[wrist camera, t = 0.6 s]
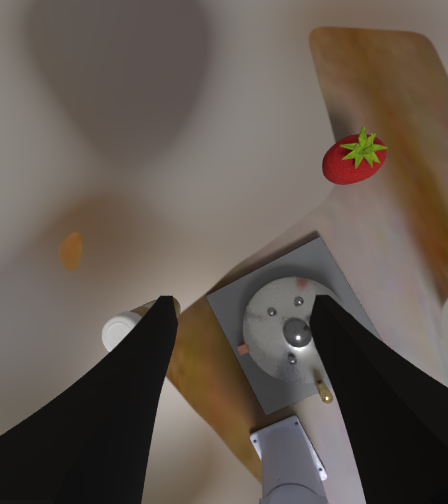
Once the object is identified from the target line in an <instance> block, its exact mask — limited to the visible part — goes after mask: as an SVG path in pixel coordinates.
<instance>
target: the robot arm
mask: <svg viewBox="0 0 448 504" xmlns="http://www.w3.org/2000/svg"><path fill="white" fill-rule="evenodd" d="M309 326H310V330H311V334H312V337H313V341H314V344H315V346H316V349H317V351H318V354H319V356H320V359H321V361H322V364H323V366H324V368H325V371H326V373H327V376H328V378H329V380H330V383H331V385H332V388H333V390H334V393H335V395H336V398H337V401H338V404H339V407H340V410H341V414H342V417H343V420H344V423H345V426H346V430H347V433H348V437H349V440H350V443H351V447H352V450H353V454H354V458H355V461H356V465H357V469H358V472H359V476H360V480H361V484H362V488H363V492H364V496H365V500H366V504H448V387H446V386H444V385H443V384H441V383H440V382H438V381H437V380H435V379H434V378H432V377H430V376H429V375H427V374H426V373H424V372H423V371H421V370H420V369H419V368H417V367H416V366H414V365H413V364H411V363H410V362H409V361H407V360H406V359H404V358H403V357H402V356H400V355H399V354H398V353H396V352H395V351H394V350H392V349H391V348H390V347H388V346H387V345H386V344H385V343H383V342H382V341H381V340H380V339H378V338H377V337H376V336H375V335H373V334H372V333H371V332H370V331H369V330H367V329H366V328H365V327H364V326H363V325H362V324H361V323H359V322H358V321H357V320H356V319H355V318H354V317H353V316H351V315H350V314H349V313H348V312H347V311H346V310H345V309H344V308H343V307H342V306H340V305H339V304H338V303H337V302H336V301H335V300H334V299H333V298H332V297H331V296H329V295H316V296H315V300H314V304H313V308H312V312H311V316H310V320H309ZM177 327H178V321H177V316H176V311H175V306H174V301H173V296H160V297H159V298H158V299H157V300H156V302H155V303H154V304H153V305H152V307H151V308H150V309H149V310H148V311H147V313H146V314H145V315H144V316H143V317H142V319H141V320H140V321H139V322H138V323H137V324H136V325H135V327H134V328H133V329H132V330H131V331H130V332H129V333H128V334H127V335H126V336H125V337H124V338H123V339H122V340H121V342H120V343H119V344H118V345H117V346H116V347H115V348H114V349H113V350H112V351H111V352H110V353H108V355H106V356H105V357H104V358H103V359H102V360H101V361H100V362H99V363H98V364H97V365H96V366H94V367H93V368H92V369H91V370H90V371H88V372H87V373H86V374H85V375H84V376H83V377H81V378H80V379H79V380H78V381H76V382H75V383H74V384H73V385H72V386H70V387H69V388H68V389H67V390H65V391H64V392H63V393H61V394H60V395H58V396H57V397H56V398H54V399H53V400H52V401H50V402H49V403H48V404H46V405H45V406H44V407H42V408H41V409H39V410H38V411H37V412H35V413H34V414H32V415H31V416H29V417H28V418H27V419H25V420H24V421H22V422H21V423H19V424H18V425H16V426H15V427H13V428H11V429H10V430H8V431H7V432H6V433H4V434H3V435H1V436H0V504H141V501H142V494H143V488H144V481H145V475H146V468H147V462H148V456H149V450H150V445H151V439H152V433H153V428H154V423H155V417H156V412H157V407H158V402H159V397H160V393H161V389H162V386H163V382H164V379H165V375H166V372H167V369H168V365H169V362H170V358H171V355H172V351H173V348H174V344H175V339H176V333H177ZM295 422H298V423H295ZM250 439H251V441H252V443H253V445H254V447H255V449H256V451H257V453H258V455H259V457H260V459H261V465H262V496H263V497H262V499H259V504H329V503H328V500H327V496H326V493H325V490H324V486H323V483H322V480H325V479H327V473H326V471H325V469H324V467H323V466H322V464H321V462H320V460H319V458H318V456H317V454H316V452H315V450H314V448H313V446H312V444H311V443H310V441H309V439H308V437H307V435H306V433H305V431H304V429H303V427H302V425H301V423H300V421H299V420H298V418H297V416H295V415H293V416H291V417H288V418H286V419H284V420H282V421H279V422H277V423H275V424H272V425H270V426H268V427H265V428H263V429H261V430H258V431H256V432H254V433H252V434H251V435H250ZM254 440H256V441H254ZM319 468H321V469H319Z"/></svg>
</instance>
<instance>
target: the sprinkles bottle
mask: <svg viewBox="0 0 448 504" xmlns="http://www.w3.org/2000/svg"><path fill="white" fill-rule="evenodd" d="M173 301H174V306H175V311H176V316H177V318H178V317H179V314H180V305H179V303H178V301H177V300H176V299H175V298H174V297H173ZM155 302H156V300H154V301H151V302H149V303H146V304H144V305H143V306H140V307H138V308H136V309H133V310H131V311H127V312H122V313H120V314H117V315H115V316H113V317H111V318H110V319H109V320H108V321H107V322H106V324H105V325H104V327H103V331H102V341H103V344H104V346H105V348H106V349H107V350H108V351H109V352H111V351H112V350H113V349H114V348H115V347H116V346H117V345H118V344H119V343H120V342H121V340H122V339H123V338H124V337H125V336H126V335H127V334H128V333H129V332H130V331H131V330H132V329H133V328H134V327H135V325H136V324H137V323H138V322H139V321H140V320H141V319H142V317H143V316H144V315H145V314H146V313H147V311H148V310H149V309H150V308H151V307H152V305H153V304H154V303H155Z"/></svg>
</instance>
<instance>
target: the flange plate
mask: <svg viewBox="0 0 448 504" xmlns="http://www.w3.org/2000/svg"><path fill="white" fill-rule="evenodd" d="M316 295H329V296H331V297H332V298H333V299H334V300H335V301H336V302H337V303H338V304H339V305H340V306H342V307H343V308H344V309H345V310H346V308H345V307H344V305H343V303H342V302H341V301H340V299H339V298H338V297H337V296H336V295H335V294H334V293H333V292H332V291H331V290H330V289H328V288H327V287H325V286H324V285H322V284H320V283H318V282H316V281H313V280H310V279H307V278H302V277H293V276H292V277H283V278H278V279H275V280H272V281H270V282H268V283H267V284H265V285H264V286H262V287H261V288H260V289H259V290H257V291H256V293H255V294H254V295H253V296H252V298H251V299H250V301H249V303H248V305H247V307H246V310H245V314H244V319H243V336H244V341H243V342H240V343H238V346H237V348H238V350H239V353H240V355H242V354H244V353H247V352H249V353H250V355H251V357H252V358H253V360H254V361H255V362H256V363H257V365H258V366H259V367H260V368H261V369H262V370H264V371H265V372H266V373H268V374H269V375H271V376H273V377H274V378H276V379H279V380H281V381H284V382H288V383H294V384H307V383H313V382H317V381H319V380H322V379H324V378H326V377H328V376H327V373H326V371H325V368H324V366H323V364H322V361H321V359H320V356H319V354H318V351H317V349H316V346H315V344H314V341H313V337H312V334H311V330H310V326H309V320H310V316H311V312H312V308H313V304H314V300H315V296H316ZM346 311H347V310H346ZM349 314H350V313H349ZM350 315H351V314H350ZM351 316H352V315H351Z"/></svg>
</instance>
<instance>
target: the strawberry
mask: <svg viewBox="0 0 448 504" xmlns="http://www.w3.org/2000/svg"><path fill="white" fill-rule="evenodd" d="M376 133H377V132H376ZM376 133H374V134H373V133H371V134H372V135H367V134H366V132H365V128H364V125H363V126H362V129H361V132H360V134H357V135H352V136H348V137H346V138H343V139H342V140H340V141H338V142H337V143H336V144H334V145H333V146H332V147H331V148H330V149H329V150H328V151H327V153H326V154H325V156H324V158H323V163H322V169H323V174H324V176H325V177H326V178H327V179H328V180H329V181H330V182H333V183H335V184H341V185H346V184H352V183H356V182H359V181H362V180H365V179H367V178H369V177H370V176H372V175H373V174H375V173H376V172H377V171H378V169H379V168H380V167H381V165H382V164H383V162H384V161H385V158H386V153H387V152H386V149H387V148H388V147H385V145H384V143H383V142H382V141H381V140H380V139H378V138H377V137H375V135H376Z"/></svg>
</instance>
